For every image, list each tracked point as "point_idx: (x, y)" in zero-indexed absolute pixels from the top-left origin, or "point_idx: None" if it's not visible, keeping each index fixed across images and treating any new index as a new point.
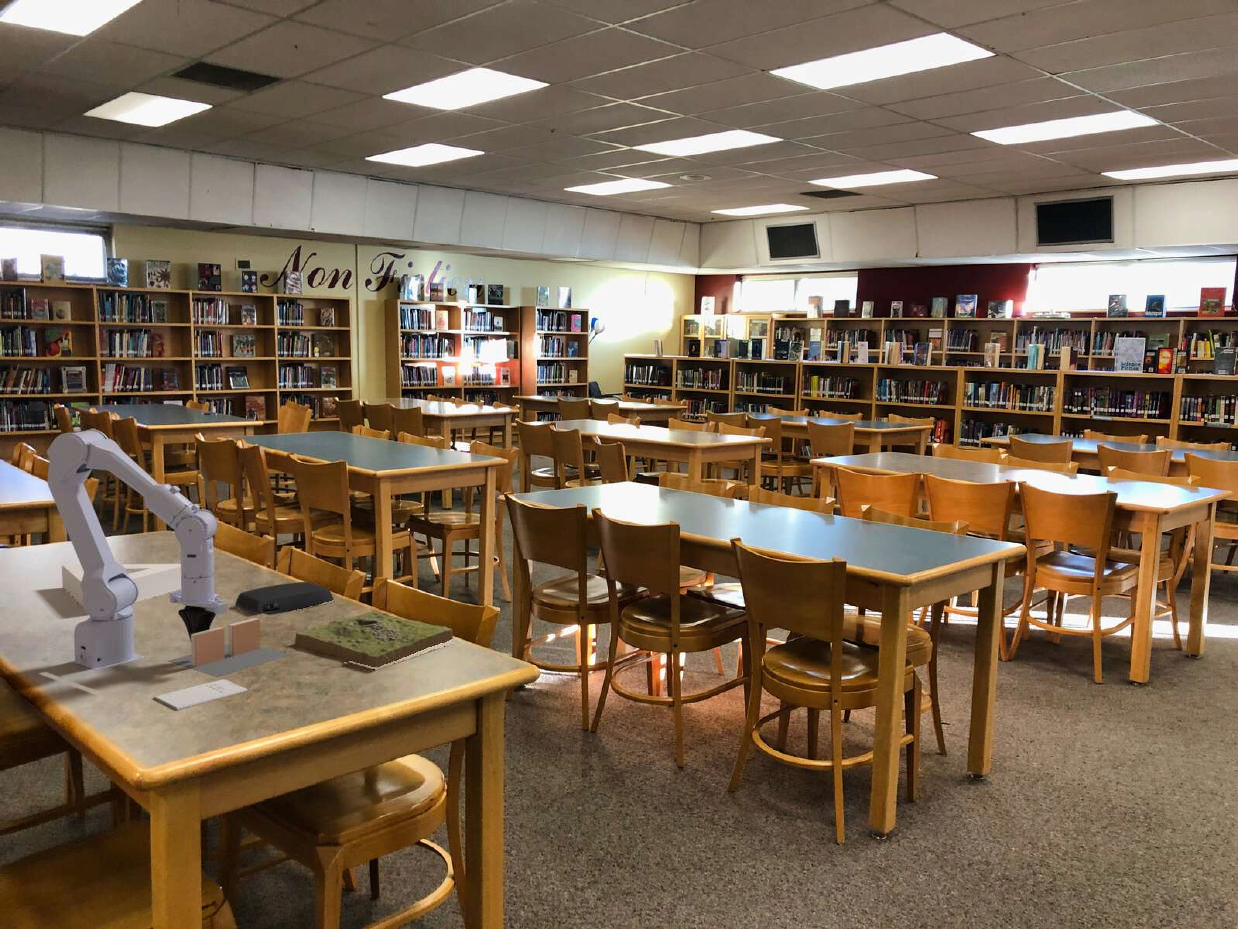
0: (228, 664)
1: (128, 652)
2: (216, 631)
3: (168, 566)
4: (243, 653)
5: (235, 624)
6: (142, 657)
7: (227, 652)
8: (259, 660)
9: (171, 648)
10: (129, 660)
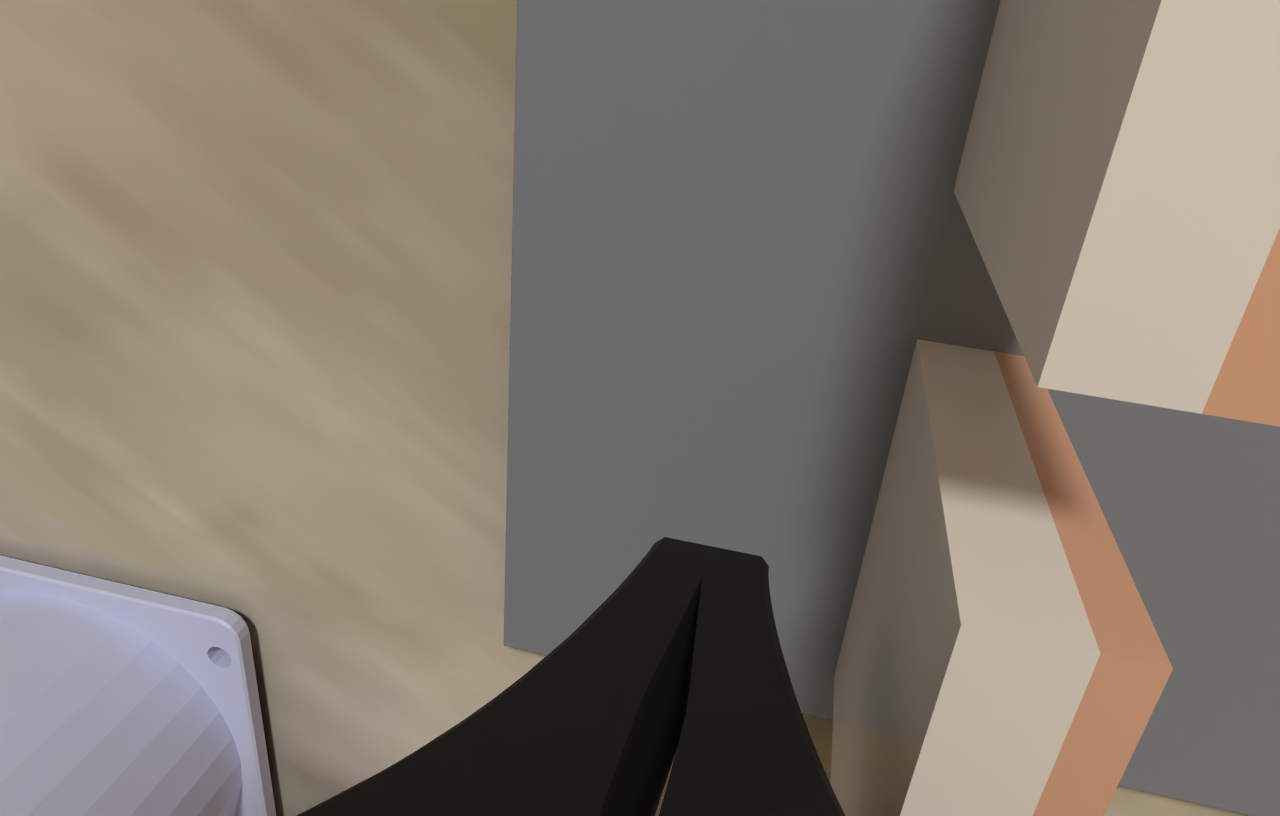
0: (1259, 511)
1: (179, 784)
2: (1095, 810)
3: None
4: None
5: (1248, 284)
6: (238, 647)
7: (852, 117)
8: None
9: (70, 242)
10: (239, 731)
